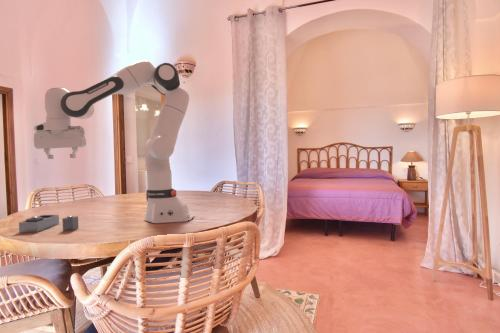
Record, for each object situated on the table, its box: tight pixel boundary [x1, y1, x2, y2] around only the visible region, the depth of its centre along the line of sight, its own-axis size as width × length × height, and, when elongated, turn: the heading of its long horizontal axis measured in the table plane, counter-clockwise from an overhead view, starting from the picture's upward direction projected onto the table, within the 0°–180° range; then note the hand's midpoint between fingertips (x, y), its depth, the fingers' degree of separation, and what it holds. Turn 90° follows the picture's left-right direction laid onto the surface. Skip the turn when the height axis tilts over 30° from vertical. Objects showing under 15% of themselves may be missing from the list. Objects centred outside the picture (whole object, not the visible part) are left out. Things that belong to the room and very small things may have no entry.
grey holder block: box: [18, 214, 60, 234], centre depth 122 cm, size 14×7×4 cm, turn 2°
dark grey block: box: [61, 215, 79, 232], centre depth 119 cm, size 4×4×6 cm
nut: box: [25, 215, 43, 222], centre depth 119 cm, size 4×4×6 cm
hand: (61, 158), depth 126 cm, fingers open, 8 cm apart
